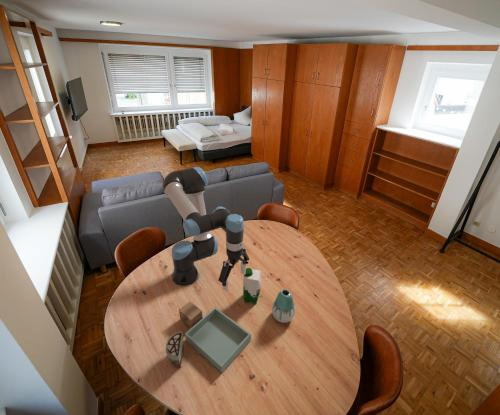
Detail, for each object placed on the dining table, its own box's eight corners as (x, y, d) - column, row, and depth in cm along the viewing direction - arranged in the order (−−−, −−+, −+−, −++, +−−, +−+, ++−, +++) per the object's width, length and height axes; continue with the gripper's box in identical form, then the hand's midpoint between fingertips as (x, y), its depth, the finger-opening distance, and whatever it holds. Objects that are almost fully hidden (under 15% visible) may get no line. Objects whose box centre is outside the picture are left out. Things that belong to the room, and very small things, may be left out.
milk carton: (245, 290, 153) (245, 264, 143) (260, 293, 151) (262, 266, 142) (241, 302, 145) (242, 275, 136) (258, 305, 144) (259, 278, 134)
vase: (295, 311, 142) (299, 286, 133) (291, 329, 132) (295, 304, 123) (274, 304, 145) (277, 280, 136) (268, 322, 135) (271, 297, 126)
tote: (185, 340, 125) (184, 333, 123) (215, 313, 139) (215, 307, 136) (221, 373, 113) (221, 366, 110) (250, 340, 126) (251, 334, 124)
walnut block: (180, 320, 135) (178, 309, 131) (191, 311, 140) (189, 301, 136) (192, 330, 130) (190, 320, 126) (202, 321, 135) (201, 310, 131)
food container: (170, 344, 123) (167, 331, 118) (184, 343, 124) (181, 330, 119) (165, 372, 113) (162, 358, 108) (180, 371, 113) (177, 357, 108)
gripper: (222, 265, 109) (223, 301, 119) (257, 236, 126) (255, 270, 137) (209, 257, 112) (211, 293, 123) (244, 231, 130) (244, 263, 141)
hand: (234, 281), depth 130 cm, fingers open, 13 cm apart
